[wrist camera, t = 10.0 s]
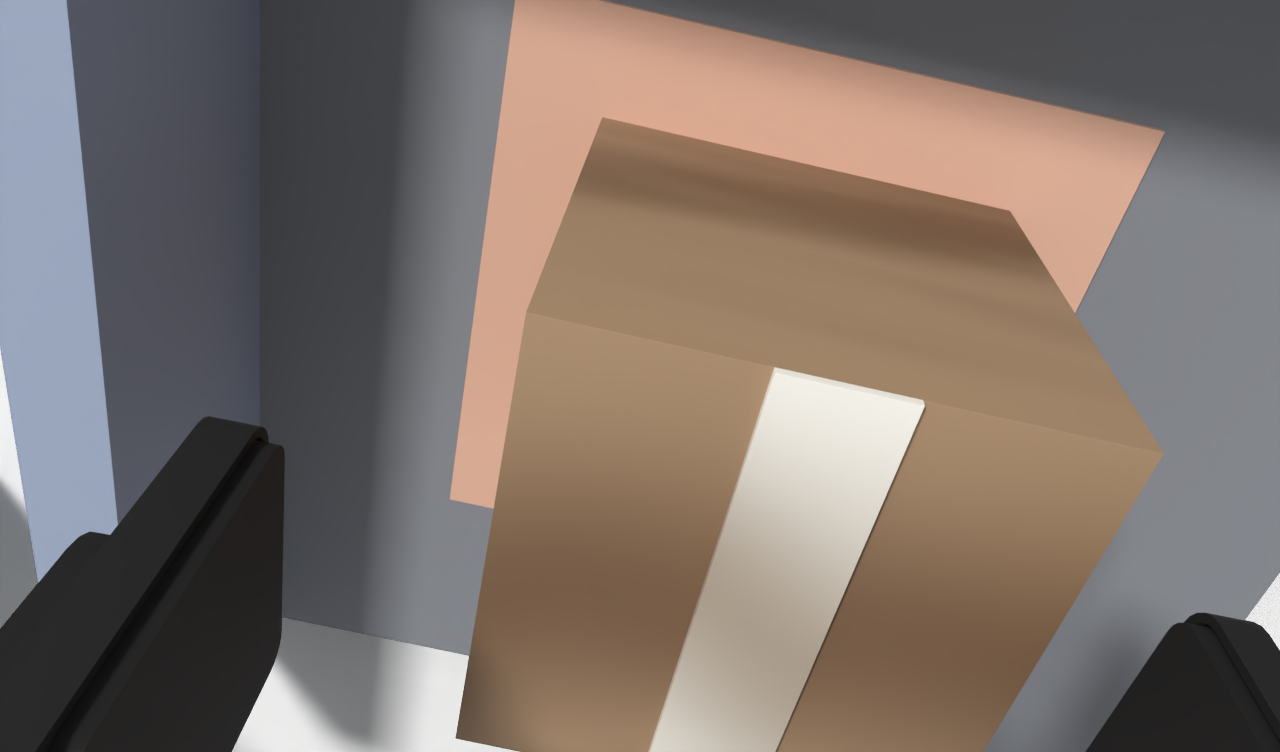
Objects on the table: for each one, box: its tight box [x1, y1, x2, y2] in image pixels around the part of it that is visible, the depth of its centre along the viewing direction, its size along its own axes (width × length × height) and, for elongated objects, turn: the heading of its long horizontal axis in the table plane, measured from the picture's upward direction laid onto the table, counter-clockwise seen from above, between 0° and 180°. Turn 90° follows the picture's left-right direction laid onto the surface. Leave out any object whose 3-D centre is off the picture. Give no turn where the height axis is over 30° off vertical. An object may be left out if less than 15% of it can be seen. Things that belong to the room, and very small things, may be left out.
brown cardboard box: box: [456, 117, 1164, 752], centre depth 13 cm, size 6×6×6 cm
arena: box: [0, 0, 1280, 752], centre depth 14 cm, size 19×18×5 cm
